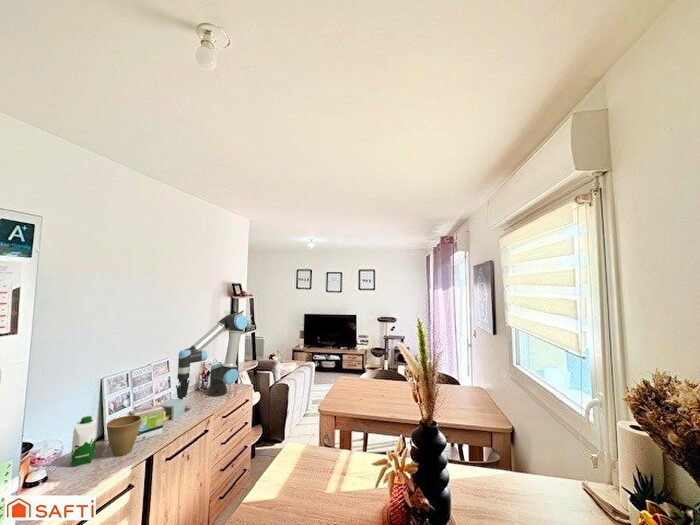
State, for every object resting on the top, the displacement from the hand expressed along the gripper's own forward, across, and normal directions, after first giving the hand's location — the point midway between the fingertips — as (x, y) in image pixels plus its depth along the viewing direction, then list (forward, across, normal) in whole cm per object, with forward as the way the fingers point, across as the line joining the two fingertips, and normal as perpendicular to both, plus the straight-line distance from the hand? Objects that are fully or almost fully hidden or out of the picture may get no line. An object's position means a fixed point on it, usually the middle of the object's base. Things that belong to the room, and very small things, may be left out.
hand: (181, 407), depth 217 cm
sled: (+1, +15, 0) cm, 15 cm away
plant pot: (+2, +57, +4) cm, 57 cm away
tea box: (+2, +39, +3) cm, 39 cm away
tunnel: (+2, +10, 0) cm, 10 cm away
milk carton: (+2, +67, -8) cm, 67 cm away
